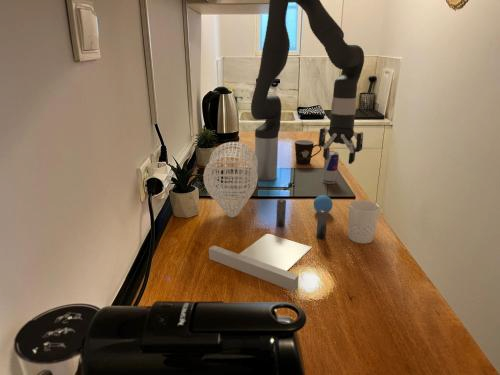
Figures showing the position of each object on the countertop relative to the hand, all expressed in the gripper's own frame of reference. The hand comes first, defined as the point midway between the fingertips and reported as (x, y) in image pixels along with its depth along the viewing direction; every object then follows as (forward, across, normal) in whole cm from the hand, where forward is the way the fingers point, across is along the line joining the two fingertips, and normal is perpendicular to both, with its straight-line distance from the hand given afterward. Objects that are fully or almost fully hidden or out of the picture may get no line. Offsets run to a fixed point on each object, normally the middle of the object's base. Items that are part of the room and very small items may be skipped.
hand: (338, 161), depth 125 cm
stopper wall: (+15, -1, -52) cm, 54 cm away
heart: (+15, -23, -29) cm, 40 cm away
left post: (+15, -7, -26) cm, 31 cm away
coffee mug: (+15, -29, +38) cm, 50 cm away
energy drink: (+15, -10, +20) cm, 27 cm away
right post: (+15, +6, -26) cm, 31 cm away
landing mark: (+15, -1, -40) cm, 43 cm away
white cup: (+15, +16, -20) cm, 30 cm away
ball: (+12, 0, -10) cm, 16 cm away
